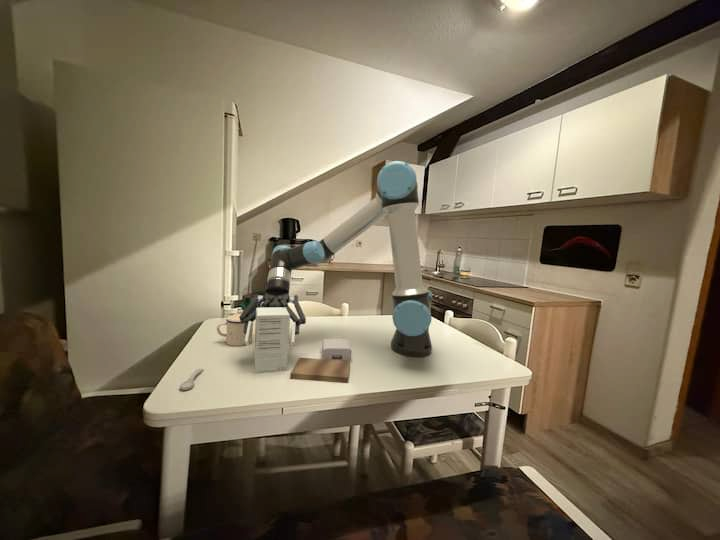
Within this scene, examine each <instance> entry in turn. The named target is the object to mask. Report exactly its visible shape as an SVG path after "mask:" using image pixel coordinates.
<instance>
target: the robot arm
mask: <svg viewBox="0 0 720 540" xmlns="http://www.w3.org/2000/svg"><path fill="white" fill-rule="evenodd" d="M376 186H377V189H378V191H377V192H376V193H375V197H374V198H372V199H371V200H370V202H367V204H366V205H364V206H363V207H362V208H360V209H359V210H358V211H357V212H355V213H354V214H352V215H351V216H350V217H349V218H348V219H346V220H345V221H344V222H342V223H341V224H340V225H339V226H337V227H336V228H334V229H333V230H332V231H330V233H328V234H327V235H326V236H324V237H323V238H322V239H320V240H319V241H318V240H312V241H307V242H305V243H302V244H299V245H297V246H294V247H291V246H289V245H287V244H286V245H285V244H284V245H282V244H280V245H276V246H275V247H274V248H273V250H272V253H271V256H270V264H269V270H268V274H267V281H266V287H265V293H264V294H263V295H259V294H258V293H254V295H253V298H252V300H251V301H250V302H249V304H248V305H247V306H246V308H245V309H244V310H243V313H242V314H241V315H240V317H239V318H240V321H241V323H245V325H244V329H243V330H244V334H246V338H245V344H246V345H245V346H250V344H249V342H250V336H251V331H252V326H254V324H253V325H252V322H253V323H254V321H256V308H268V307H286V309H287V311H288V313H289V314H290V320H292V331H291V342H290V343H291V347H294V346H295V340H296V335H299V334H300V326H301V325H306V322H307V321H306V320H307V319H306V316H305V314H304V312H303V308H302V306H301V305H300V303H299V296H298V295H297V294H295V295H294V296H290V295H289V294H290V287H291V278H292V272H293V270H295V269H300V268H302V267H307V266H310V265H317V264H325V263H327V262H329V261H331V259H332V257H333V256H334V255H335V254H337V253H338V252H339V251H341V250H342V249H344V247H346V246H347V245H349V244H350V243H352V242H353V241H354V240H356V239H357V238H358V237H359V236H361V235H362V234H363V233H365V232H366V231H367V230H368V229H370V228H372V227H373V226H374V225H376V224H377V223H379V221H381V220H382V219H383V218H385V217H386V216H387V219H388V228H389V237H390V248H391V256H392V263H393V274H394V282H395V290H393V291H392V294H391V296H392V298H391V299H392V305H393V312H392V316H391V317H392V323H393V325H394V327H395V328H396V329H395V330H394V334H393V336H392V339H391V341H390V348H391V350H392V351H394V352H396V353H397V354H400V355H404V356H409V357H414V358H415V357H416V358H417V357H426V356H430V355H431V353H432V351H433V350H432V349H433V346H432V345H433V344H432V342H431V341H432V340H431V336H430V333H429V331H430V330H429V329H430V326H431V323H432V319H433V318H432V310H431V309H432V301H433V293H432V291H431V290H428V289H427V288H426V287H425V286H424V284H423V277H422V276H423V275H422V266H421V256H420V248H419V238H418V237H419V236H418V228H417V220H416V209H417V208H418V207H419V205H420V203H419V202H420V201H419V192H418V190H419V189H418V181H417V174H416V171H415V170H414V168H413V167H412V166H411V165H410V164H409V163H407V162H405V161H401V160H394V161H391V162H388V163H387V164H385V165H384V166H383V167H381V169H380V171H379V172H378V174H377V179H376ZM261 301H263V302H262V303H261V305H260V306H258V304H259V303H260V302H261ZM289 302H291V303H292V304H293V305H294V308H295V310H296V313H295V312H294V311H293V309H292V308H291V307H290V306H289ZM257 306H258V307H257ZM297 315H298V316H297Z"/></svg>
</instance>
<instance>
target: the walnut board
mask: <svg viewBox="0 0 720 540" xmlns="http://www.w3.org/2000/svg"><path fill="white" fill-rule="evenodd" d="M296 361H297V362H296V363H295V364H294V366H293V368H292V369H291V372H290V373H289V374H290V375H289V378H290V379H292V380H293V379H294V380H307V381H319V382H332V383H345V384H346V383H349V375H350V368H351V361H341V360H327V359H322V358H311V357H299V358H298V359H297V360H296Z"/></svg>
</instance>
